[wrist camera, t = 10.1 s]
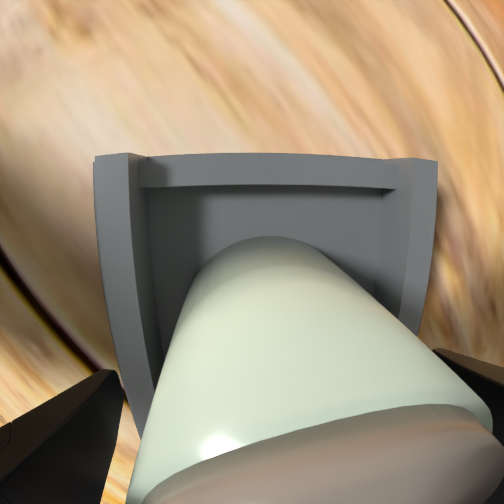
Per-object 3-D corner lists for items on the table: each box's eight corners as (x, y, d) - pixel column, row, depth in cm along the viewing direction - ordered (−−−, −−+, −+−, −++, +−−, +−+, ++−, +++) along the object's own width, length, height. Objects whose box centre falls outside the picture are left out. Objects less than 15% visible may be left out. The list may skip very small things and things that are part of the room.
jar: (191, 385, 11) (168, 597, 3) (178, 237, 10) (25, 452, 2) (337, 378, 12) (427, 557, 3) (354, 235, 10) (577, 366, 2)
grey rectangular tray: (163, 489, 14) (154, 561, 9) (98, 162, 10) (-1, 158, 4) (357, 476, 15) (383, 540, 9) (419, 164, 10) (526, 168, 5)
